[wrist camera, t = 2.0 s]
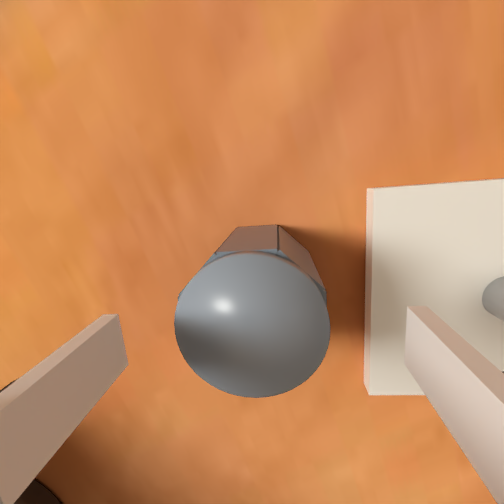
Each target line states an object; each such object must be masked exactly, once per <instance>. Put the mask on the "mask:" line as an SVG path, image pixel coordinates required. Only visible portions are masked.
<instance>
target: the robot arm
mask: <svg viewBox="0 0 504 504" xmlns="http://www.w3.org/2000/svg"><path fill="white" fill-rule="evenodd" d="M404 364H405V365H406V367H407V368H408V370H409V371H410V373H411V374H412V376H413V377H414V379H415V380H416V382H417V383H418V385H419V386H420V388H421V389H422V391H423V392H424V394H425V395H426V397H427V398H428V400H429V401H430V403H431V404H432V406H433V407H434V409H435V410H436V412H437V413H438V415H439V416H440V418H441V419H442V421H443V422H444V424H445V425H446V427H447V428H448V430H449V431H450V433H451V434H452V436H453V437H454V439H455V440H456V442H457V443H458V445H459V446H460V448H461V449H462V451H463V452H464V454H465V455H466V457H467V458H468V460H469V461H470V463H471V464H472V466H473V467H474V469H475V471H476V472H477V474H478V475H479V477H480V478H481V480H482V481H483V483H484V484H485V486H486V487H487V489H488V490H489V492H490V493H491V495H492V496H493V498H494V499H495V501H496V502H497V504H504V371H500V370H499V369H498V368H497V367H496V366H494V365H493V364H492V363H491V362H490V361H489V360H488V359H486V358H485V357H484V356H483V355H482V354H481V353H480V352H478V351H477V350H476V349H475V348H474V347H473V346H472V345H471V344H469V343H468V342H467V341H466V340H465V339H464V338H463V337H461V336H460V335H459V334H458V333H457V332H456V331H455V330H453V329H452V328H451V327H450V326H449V325H448V324H447V323H445V322H444V321H443V320H442V319H441V318H440V317H439V316H437V315H436V314H435V313H434V312H433V311H432V310H431V309H430V308H428V307H427V306H407V320H406V338H405V355H404ZM127 366H128V360H127V355H126V350H125V345H124V340H123V335H122V331H121V326H120V321H119V316H118V314H103V315H102V316H101V317H99V318H98V319H97V320H95V321H94V322H93V323H91V324H90V325H89V326H87V327H86V328H85V329H83V330H82V331H81V332H79V333H78V334H77V335H76V336H74V337H73V338H72V339H70V340H69V341H68V342H66V343H65V344H64V345H62V346H61V347H60V348H58V349H57V350H56V351H54V352H53V353H52V354H51V355H49V356H48V357H47V358H45V359H44V360H43V361H41V362H40V363H39V364H37V365H36V366H35V367H33V368H32V369H31V370H29V371H28V372H27V373H26V374H24V375H23V376H22V377H20V378H18V379H17V380H15V381H13V382H11V383H10V384H8V385H7V386H6V387H4V388H3V389H2V390H0V504H61V503H60V502H59V501H58V500H57V499H56V497H55V496H54V495H53V494H52V493H51V492H50V491H49V490H47V489H46V488H45V487H44V486H42V485H41V484H40V483H38V482H37V481H35V480H33V479H34V478H35V477H36V476H37V475H38V473H39V472H40V471H41V470H42V469H43V467H44V466H45V465H46V464H47V462H48V461H49V460H50V459H51V458H52V456H53V455H54V454H55V453H56V452H57V450H58V449H59V448H60V447H61V446H62V444H63V443H64V442H65V441H66V439H67V438H68V437H69V436H70V435H71V433H72V432H73V431H74V430H75V429H76V427H77V426H78V425H79V424H80V423H81V421H82V420H83V419H84V418H85V416H86V415H87V414H88V413H89V412H90V410H91V409H92V408H93V407H94V406H95V404H96V403H97V402H98V401H99V400H100V398H101V397H102V396H103V395H104V393H105V392H106V391H107V390H108V389H109V387H110V386H111V385H112V384H113V383H114V381H115V380H116V379H117V378H118V377H119V375H120V374H121V373H122V372H123V370H124V369H125V368H126V367H127Z"/></svg>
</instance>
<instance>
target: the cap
mask: <svg viewBox="0 0 504 504" xmlns="http://www.w3.org/2000/svg"><path fill="white" fill-rule="evenodd" d="M174 326H175V335H176V339H177V343H178V346H179V348H180V351H181V353H182V355H183V357H184V359H185V360H186V362H187V363H188V364H189V366H190V367H191V368H192V369H193V370H194V372H195V373H196V374H197V375H199V376H200V377H201V378H202V379H203V380H205V381H206V382H207V383H209V384H210V385H212V386H214V387H216V388H217V389H219V390H222V391H224V392H227V393H230V394H233V395H237V396H243V397H253V398H259V397H269V396H275V395H278V394H282V393H285V392H287V391H289V390H292V389H294V388H295V387H297V386H299V385H300V384H302V383H303V382H304V381H306V380H307V379H308V378H309V377H310V376H311V375H312V374H313V373H314V372H315V371H316V370H317V368H318V367H319V365H320V364H321V362H322V360H323V358H324V357H325V354H326V351H327V349H328V345H329V340H330V319H329V315H328V311H327V299H326V289H325V287H324V285H323V283H322V280H321V278H320V276H319V274H318V272H317V269H316V267H315V265H314V263H313V260H312V258H311V256H310V254H309V251H308V250H307V249H305V248H304V247H303V246H302V245H301V244H300V243H299V242H297V241H296V240H295V239H294V238H293V237H292V236H291V235H289V234H288V233H287V232H286V231H285V230H284V229H283V228H282V227H280V226H278V227H277V225H263V226H248V227H237V228H236V229H235V230H234V231H233V232H232V233H231V234H230V236H229V237H228V238H227V239H226V240H225V241H224V242H223V244H222V245H221V246H220V247H219V248H218V249H217V250H216V252H215V253H214V254H213V255H212V256H211V257H210V259H209V260H208V261H207V262H206V263H205V264H204V266H203V267H202V268H201V269H200V270H199V271H198V273H197V274H196V275H195V276H194V277H193V278H192V279H191V281H190V282H189V283H188V284H187V285H186V287H185V288H184V289H183V290H182V291H181V292H180V294H179V296H178V304H177V307H176V312H175V322H174Z"/></svg>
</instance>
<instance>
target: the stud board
mask: <svg viewBox="0 0 504 504" xmlns="http://www.w3.org/2000/svg"><path fill="white" fill-rule="evenodd" d="M407 306H427V307H428V308H430V309H431V310H432V311H433V312H434V313H435V314H436V315H437V316H439V317H440V318H441V319H442V320H443V321H444V322H445V323H447V324H448V325H449V326H450V327H451V328H452V329H453V330H455V331H456V332H457V333H458V334H459V335H460V336H461V337H463V338H464V339H465V340H466V341H467V342H468V343H469V344H471V345H472V346H473V347H474V348H475V349H476V350H477V351H478V352H480V353H481V354H482V355H483V356H484V357H485V358H486V359H488V360H489V361H490V362H491V363H492V364H493V365H494V366H496V367H497V368H498V369H499V370H500V371H504V178H499V179H485V180H472V181H458V182H444V183H431V184H417V185H404V186H390V187H377V188H367V211H366V273H365V335H364V384H365V386H366V389H367V391H368V393H369V395H425V394H424V392H423V391H422V389H421V388H420V386H419V385H418V383H417V382H416V380H415V379H414V377H413V376H412V374H411V373H410V371H409V370H408V368H407V367H406V365H405V364H404V355H405V338H406V320H407Z"/></svg>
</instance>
